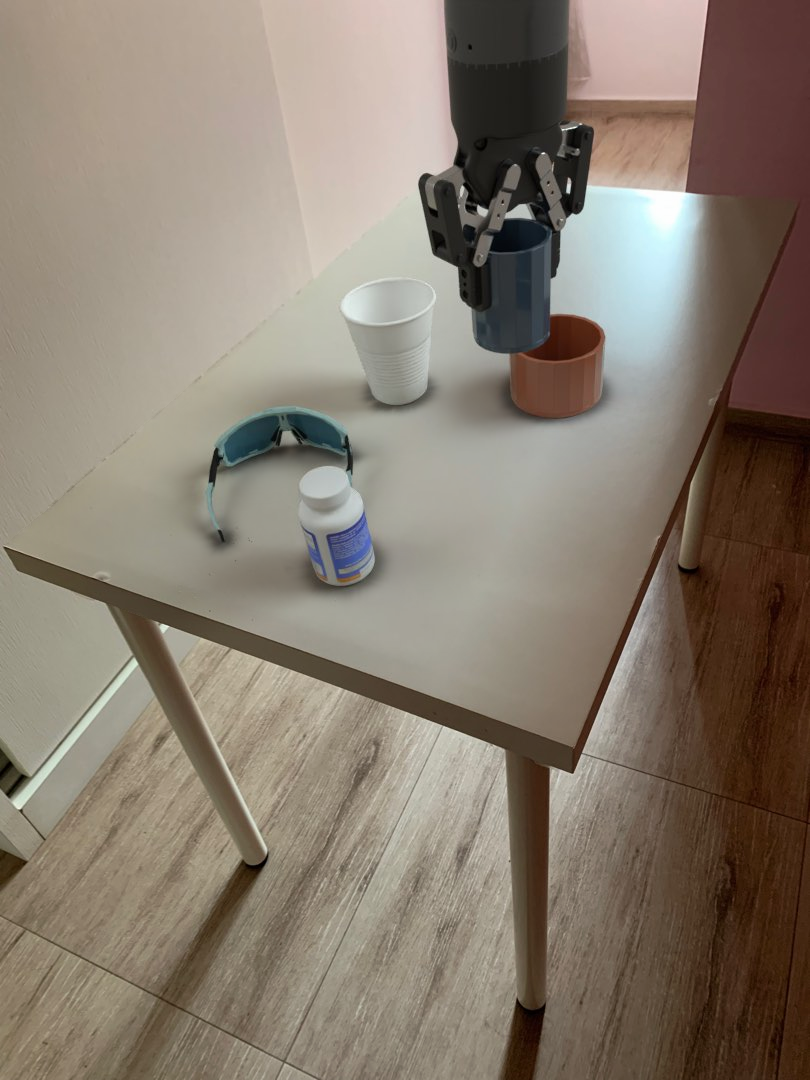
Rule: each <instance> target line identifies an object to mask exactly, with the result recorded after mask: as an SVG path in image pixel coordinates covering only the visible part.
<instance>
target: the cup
mask: <svg viewBox="0 0 810 1080" xmlns="http://www.w3.org/2000/svg"><path fill="white" fill-rule="evenodd" d="M436 300H437V294H436V291H435V289H434V288H433V287H432V285H430V284H429V283H427V282H425V281H423V280H420V279H418V278H417V279H416V278H411V277H405V276H404V277H403V276H402V277H401V276H395V277H384V278H378V279H374V280H371V281H367V282H364V283H362V284H360V285H358V286H355V287H354V288H352V289H350V290H349V291H348V292H346V294H344V295H343V297H342V298H341V300H340V302H339V305H338V309H339V313H340V315H341V316H342V318H343V319H344V321H345V324H346V327H347V330H348V332H349V334H350V337H351V340H352V343H353V344H354V347H355V350H356V353H357V356H358V358H359V362H360V363H361V366H362V369H363V372H364V375H365V378H366V380H367V383H368V386H369V389H370V392H371V394H372V396H373V398H375V399H376V401H378V402H381V403H383V404H385V405H390V406H402V405H406V404H411V403H412V402H415V401H417V400H418V399H420V398H421V397H422V396H423V395H424V394H425V393H426V391H427V389H428V381H429V367H430V355H431V341H432V328H433V327H432V326H433V313H434V305H435V303H436Z"/></svg>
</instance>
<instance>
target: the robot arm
mask: <svg viewBox="0 0 810 1080" xmlns="http://www.w3.org/2000/svg"><path fill="white" fill-rule="evenodd" d="M570 3H571V1H570V0H443V15H444V16H443V17H444V32H445V49H446V65H447V79H448V80H447V81H448V93H449V94H448V95H449V112H450V122H451V125H452V128H453V130H454V132H455V136H456V140H457V147H456V151H455V155H454V159H453V163H452V164H453V165H452V166H451V167H449V168H447V169H445V170H444V171H441V172H440V173H439V174H437V175H434V174H433V173H432V174H431V173H430V172H424V173H423V174H421V176H420V177H419V179H418V183H417V186H418V193H419V196H420V200H421V201H420V202H421V205H422V211H423V215H424V220H425V221H424V222H425V225H426V229H427V234H428V240H429V244H430V249H431V253H432V255H433V256H434V257H436V258H437V259H440V260H442V261H444V262H446V263H448V264H450V265H452V266H454V267H456V268H457V273H458V274H457V276H458V288H459V289H458V291H459V297H460V299H461V301H462V302H463V303H465V305H466V306H467V307H469V308H470V309H471V308H473V309H474V310H476V311H478V312H483V311H485V310H487V309H489V308H490V288H489V263H487V262H486V260H487V256H488V253H489V250H490V247H491V243H492V240H493V237H494V235H495V234H498V233H499V232H500V230H501V228H502V225H503V221H504V219H505V217H506V214H508V213H510V212H511V211H514V209H515V208H517V207H518V206H520V205H525V206H526V208H527V210H528V212H529V215H530V217H531V219H533V220H537V221H539V222H542V223H544V224H546V225H547V226H548V227H549V228H550V229H551V230H552V253H551V280H552V279H554V278H556V277H557V274H558V271H557V270H558V268H559V266H560V262H561V239H562V238H561V233H562V232H561V231H562V230H563V229H564V228H565V227H566V224H567V220H568V219H569V218H570V216H571V215H572V214H573V215H575V216H576V215H577V216H578V215H579V214H581V213H582V211H583V209H584V207H585V202H586V195H587V189H588V188H587V187H588V181H589V174H590V166H591V159H592V151H593V144H594V138H595V129H594V127H593V126H591V125H587V124H585V123H582V122H578V121H575V120H569V119H566V118H565V116H566V114H567V109H568V107H567V105H568V73H569V72H568V71H569V37H570V35H569V33H570V32H569V31H570ZM564 118H565V119H564ZM569 180H570V188H569V192H567V190H568V184H569V183H568V181H569ZM462 187H463V188H464V189H463V192H462V195H461V190H462V189H461V188H462ZM478 206H479V207H480V208H482V209H484V210H487V213H486V215H485V216H484V215H481V214H480V213H479V212H478ZM475 229H477V234H476V238H475V241H474V245H473V244H471V243H472V239H473V236H474V233H475Z"/></svg>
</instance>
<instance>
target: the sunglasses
mask: <svg viewBox="0 0 810 1080" xmlns="http://www.w3.org/2000/svg"><path fill="white" fill-rule="evenodd" d="M283 432H290V433H291V434H292V436H293V437H294V438H295V440H296V441H297V443H298V444H299V445H300V446H301V445H303V443H306V444H308V445H310V446H311V447H314V448H320V449H325V450H328V451H332V452H334V453H336V454H338V455H341V456H343V457H347V460H346V461H347V465H346V469H345V472H346V474H347V476H348V479H349V483H350V487H352V488H353V477H352V476H353V473H354V453H353V449H352V444H351V441H350V438H349V432H348V431H347V429H346V428H345V427H344V425H342V424H341V423H340V422H339V421H337V420H335V419H334V418H332V417H331V416H329V415H328V414H325V413H322V412H319V411H316V410H313V409H311V408H304V407H298V405H295V406H294V405H291V406H274V407H271V408H265V409H264V410H262V411H259V412H256V413H253V414H251V415H248V416H247V417H245V418H243V419H241V420H240V421H238V422H237V423H235V424H234V425H232V426H231V427H229V428H228V429H227V430H226V431H225V432H224V433H223V434H221V435H220V437H218V439H217V440H216V441H215V442H214V444H213V447H214V450H213V454H212V458H211V462H210V467H209V473H208V483H207V486H206V489H205V498H206V501H207V509H208V514H209V517H210V518H211V521H212V524H213V526H214V527H215V529H216V530H217V532H218V533H217V534H218V536H219V538H220V540H221V543H225V542H226V539H225V536H224V533H223V531H222V530H221V527H220V525H219V523H218V522H217V519H216V516H215V512H214V507H213V494H214V491H215V487H216V479H217V473H218V468H219V467H220V464H222V466H224V467H234V466H235V465H237V464H239V463H241V462H243V461H246V460H248V459H250V458H253V457H256V456H259V455H262V454H264V453H267V452H268V451H269V450H271V449H273V447H278V448H279V447H280V446H281V442H282V437H283Z"/></svg>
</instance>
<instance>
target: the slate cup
mask: <svg viewBox="0 0 810 1080" xmlns="http://www.w3.org/2000/svg"><path fill="white" fill-rule="evenodd" d="M476 234H477V229H475V233H474V236H473V239H472V243H471V244H473V245H474V241H475V238H476ZM551 253H552V230H551V229H550V228H549V227H548V226H547V225H546V224H544V223H542V222H539V221H537V220H533V219H532V218H527V217H526V218H525V217H506V218H504V221H503V225H502V228H501V230H500V232H499V233H498V234H495V235H494V237H493V240H492V243H491V247H490V250H489V253H488V256H487V260H486V262H487V263H489V288H490V308H489V309H487V310H485V311H483V312H478V311H476V310H474V309H473V308H471V307H470V309H471V321H472V322H471V326H472V333H473V335H472V336H473V339H474V342H475V343H476V344H477V345H478V346H479V347H480V348H481V349H484V350H486V351H488V352H492V353H496V354H501V355H503V354H504V355H509V354H515V353H522V352H526V351H530V350H533V349H535V348H537V347H539V346H541V345H542V344H543V343H544V342H545V341H546V340H547V339H548V337H549V335H550V315H551V309H552V307H551V305H552V301H551V300H552V299H551V298H552V279H551Z"/></svg>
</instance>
